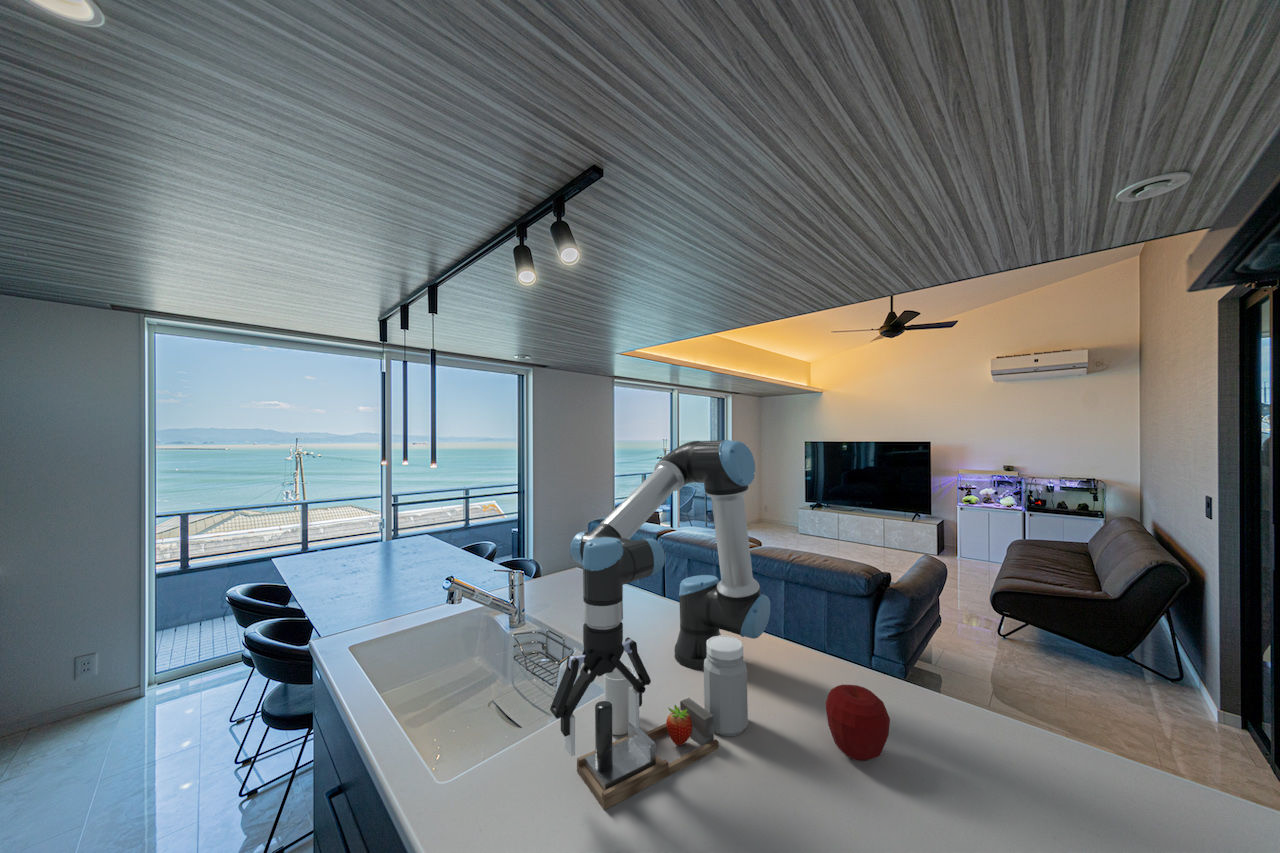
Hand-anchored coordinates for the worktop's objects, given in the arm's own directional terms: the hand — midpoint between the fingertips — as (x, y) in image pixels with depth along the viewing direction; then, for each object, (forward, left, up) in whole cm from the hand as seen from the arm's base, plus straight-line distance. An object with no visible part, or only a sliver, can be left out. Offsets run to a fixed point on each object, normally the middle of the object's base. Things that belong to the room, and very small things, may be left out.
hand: (603, 737), depth 82 cm
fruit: (-18, 0, -9) cm, 20 cm away
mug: (-12, -14, -9) cm, 20 cm away
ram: (-4, 0, -7) cm, 7 cm away
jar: (-31, 0, -9) cm, 32 cm away
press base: (-11, 0, -8) cm, 14 cm away
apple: (-46, +22, -9) cm, 52 cm away
